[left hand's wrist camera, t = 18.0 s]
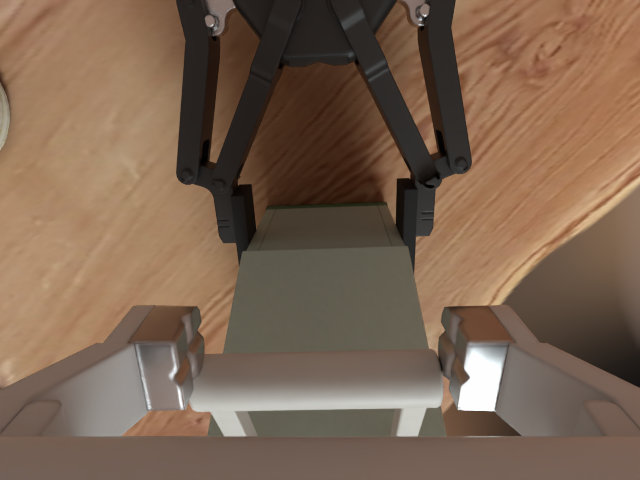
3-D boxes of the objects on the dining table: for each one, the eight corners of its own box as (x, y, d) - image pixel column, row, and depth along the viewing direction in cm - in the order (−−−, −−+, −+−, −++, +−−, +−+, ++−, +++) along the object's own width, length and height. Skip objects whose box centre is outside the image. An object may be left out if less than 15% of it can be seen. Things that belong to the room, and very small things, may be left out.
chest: (384, 349, 37) (399, 429, 28) (281, 351, 37) (266, 431, 29) (386, 201, 32) (406, 246, 23) (267, 206, 32) (244, 252, 24)
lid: (470, 578, 13) (555, 526, 8) (187, 578, 14) (76, 529, 8) (406, 255, 23) (424, 132, 18) (244, 260, 24) (212, 141, 18)
